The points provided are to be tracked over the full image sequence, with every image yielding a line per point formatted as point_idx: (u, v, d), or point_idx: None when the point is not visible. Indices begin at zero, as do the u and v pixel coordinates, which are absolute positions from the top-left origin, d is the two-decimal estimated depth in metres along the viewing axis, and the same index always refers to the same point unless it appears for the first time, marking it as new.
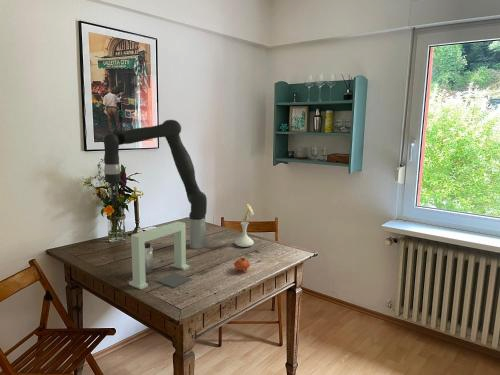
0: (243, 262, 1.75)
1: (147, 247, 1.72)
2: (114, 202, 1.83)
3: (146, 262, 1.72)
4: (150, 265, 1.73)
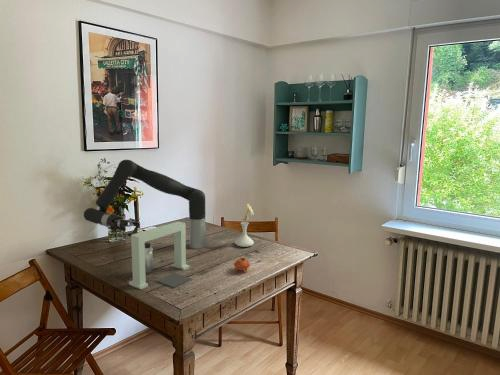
0: (243, 262, 1.75)
1: (147, 247, 1.72)
2: None
3: (146, 262, 1.72)
4: (150, 265, 1.73)
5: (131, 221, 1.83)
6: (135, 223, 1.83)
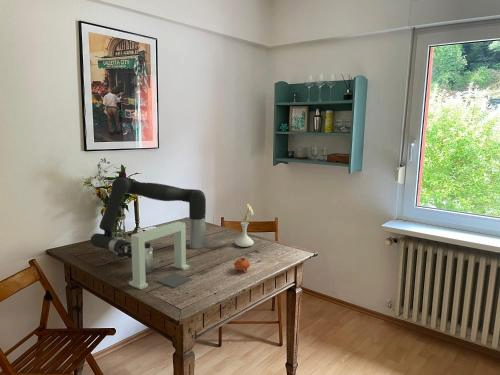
0: (243, 262, 1.75)
1: (147, 247, 1.72)
2: None
3: (146, 262, 1.72)
4: (150, 265, 1.73)
5: None
6: None
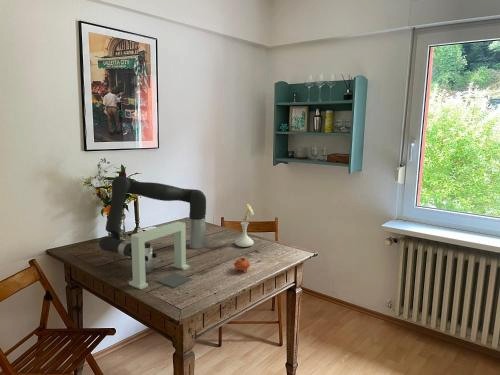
0: (243, 262, 1.75)
1: (147, 247, 1.72)
2: None
3: (146, 262, 1.72)
4: (150, 265, 1.73)
5: None
6: None
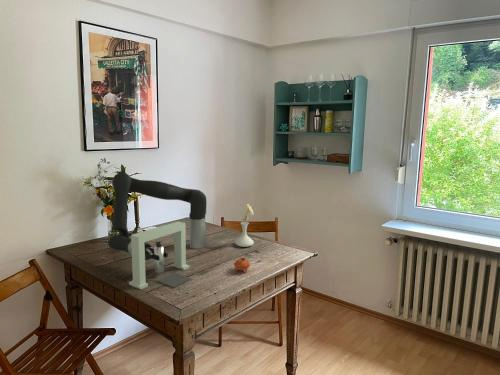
0: (243, 262, 1.75)
1: (158, 246, 1.67)
2: None
3: (157, 262, 1.67)
4: (161, 265, 1.68)
5: None
6: None
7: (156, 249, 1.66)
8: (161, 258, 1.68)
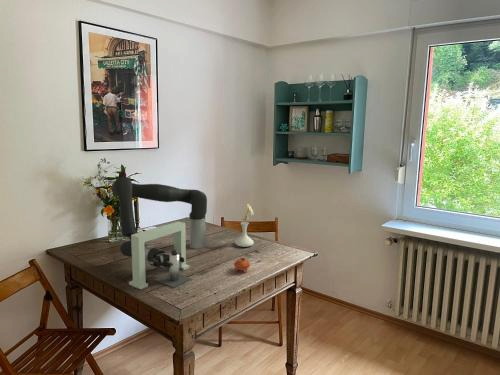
0: (243, 262, 1.75)
1: (174, 254, 1.62)
2: None
3: (172, 270, 1.62)
4: (176, 273, 1.63)
5: None
6: (179, 258, 1.67)
7: (172, 257, 1.61)
8: (176, 267, 1.63)
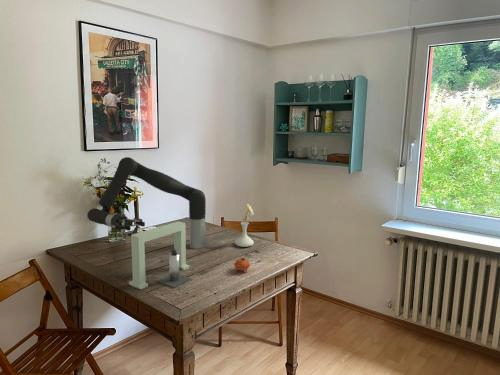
0: (243, 262, 1.75)
1: (174, 254, 1.62)
2: None
3: (172, 270, 1.62)
4: (176, 273, 1.63)
5: (136, 220, 1.81)
6: (140, 222, 1.80)
7: (171, 257, 1.61)
8: (176, 267, 1.63)
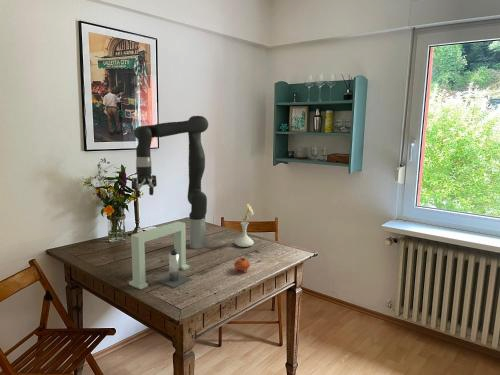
0: (243, 262, 1.75)
1: (173, 254, 1.62)
2: None
3: (171, 270, 1.62)
4: (176, 273, 1.63)
5: (151, 186, 1.90)
6: (151, 190, 1.91)
7: (171, 257, 1.62)
8: (176, 266, 1.63)
